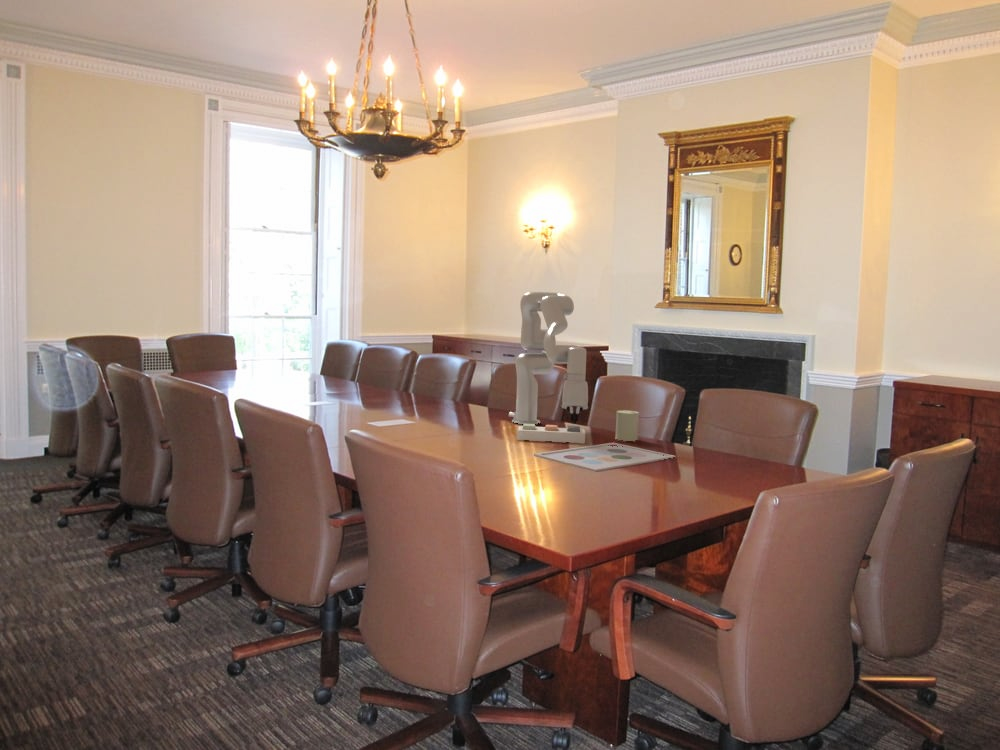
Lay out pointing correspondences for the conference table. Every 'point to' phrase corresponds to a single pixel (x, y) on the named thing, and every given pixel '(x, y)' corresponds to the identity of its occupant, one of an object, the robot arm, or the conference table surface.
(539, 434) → the button strip
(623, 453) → the dotted sorting mat
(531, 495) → the conference table surface
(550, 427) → the terracotta button
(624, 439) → the can
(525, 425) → the sage button
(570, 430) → the charcoal button
